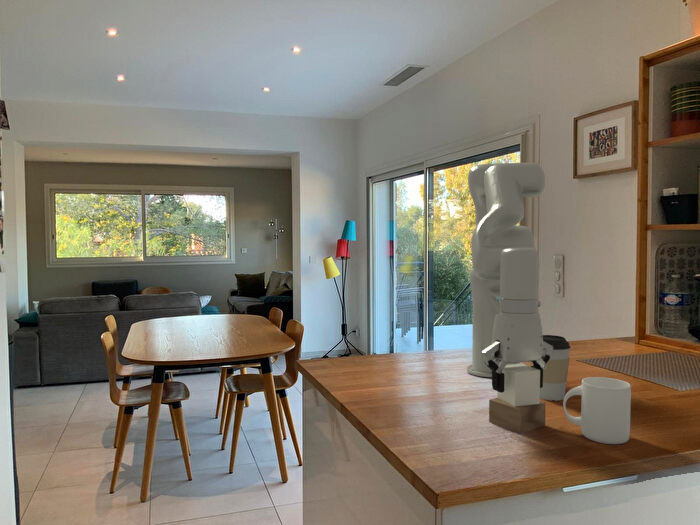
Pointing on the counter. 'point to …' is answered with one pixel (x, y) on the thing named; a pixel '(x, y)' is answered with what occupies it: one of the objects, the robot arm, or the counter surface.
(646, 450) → the counter surface
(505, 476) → the counter surface
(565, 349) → the coffee cup
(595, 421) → the mug
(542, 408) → the walnut block
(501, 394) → the cream block
